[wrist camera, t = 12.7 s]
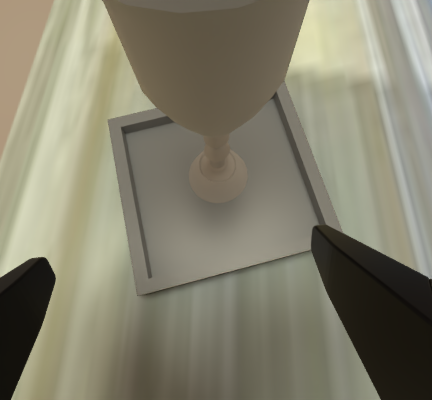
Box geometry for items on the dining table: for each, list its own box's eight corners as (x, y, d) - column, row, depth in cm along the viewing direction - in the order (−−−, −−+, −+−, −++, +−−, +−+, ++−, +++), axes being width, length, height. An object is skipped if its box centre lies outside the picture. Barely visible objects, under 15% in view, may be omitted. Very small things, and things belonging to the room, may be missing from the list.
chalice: (199, 230, 22) (121, 69, 5) (162, 163, 24) (6, -131, 7) (275, 187, 23) (432, -77, 6) (234, 125, 25) (262, -224, 8)
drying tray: (335, 243, 23) (345, 240, 21) (144, 294, 22) (137, 296, 20) (278, 92, 27) (283, 78, 25) (116, 131, 26) (107, 119, 24)
